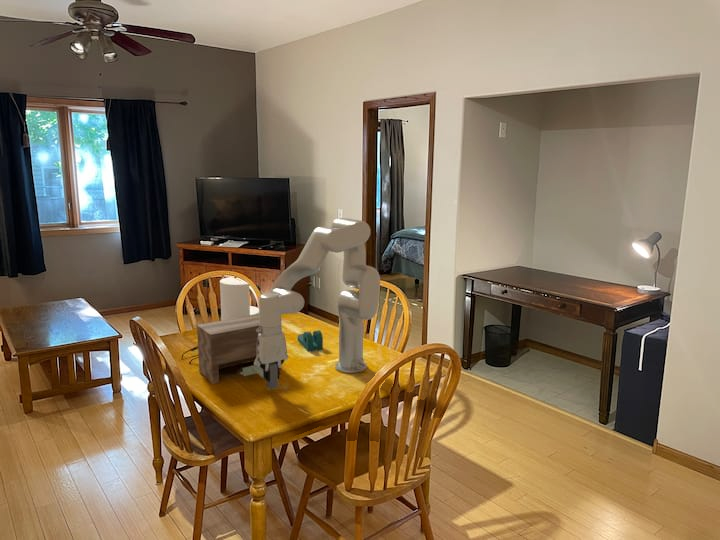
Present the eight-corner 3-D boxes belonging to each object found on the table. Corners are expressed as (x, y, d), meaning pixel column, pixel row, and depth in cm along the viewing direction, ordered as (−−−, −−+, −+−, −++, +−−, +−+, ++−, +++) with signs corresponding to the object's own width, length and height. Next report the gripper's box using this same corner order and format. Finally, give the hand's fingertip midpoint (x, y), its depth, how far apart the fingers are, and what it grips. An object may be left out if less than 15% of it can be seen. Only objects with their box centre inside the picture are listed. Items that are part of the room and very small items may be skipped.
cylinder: (232, 349, 234) (230, 286, 229) (215, 338, 247) (213, 279, 242) (268, 341, 245) (266, 281, 239) (249, 331, 258) (248, 274, 252)
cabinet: (280, 367, 215) (279, 321, 211) (213, 383, 199) (210, 334, 195) (264, 356, 226) (263, 313, 222) (199, 371, 210) (196, 324, 206)
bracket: (322, 350, 235) (322, 332, 234) (308, 352, 233) (307, 334, 231) (309, 337, 251) (309, 321, 250) (295, 339, 249) (295, 322, 247)
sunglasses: (218, 357, 225) (216, 346, 224) (192, 368, 217) (190, 357, 215) (204, 351, 232) (202, 340, 231) (179, 362, 224) (177, 351, 222)
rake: (284, 385, 192) (283, 361, 190) (263, 391, 187) (263, 366, 185) (262, 370, 205) (261, 347, 204) (242, 375, 201) (242, 352, 199)
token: (252, 373, 210) (252, 370, 209) (240, 376, 207) (240, 373, 206) (246, 369, 214) (246, 366, 213) (235, 372, 211) (234, 369, 210)
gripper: (253, 336, 179) (255, 388, 183) (296, 327, 188) (297, 377, 192) (244, 330, 185) (245, 381, 188) (286, 322, 194) (287, 370, 198)
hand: (271, 378), depth 190 cm, fingers closed on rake, 3 cm apart
